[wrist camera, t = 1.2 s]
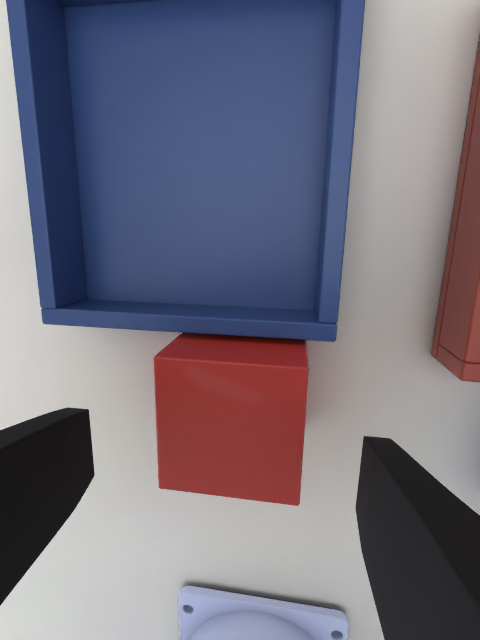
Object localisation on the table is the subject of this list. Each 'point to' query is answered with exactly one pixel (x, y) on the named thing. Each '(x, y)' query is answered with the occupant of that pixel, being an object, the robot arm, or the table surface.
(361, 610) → the table surface
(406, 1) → the table surface
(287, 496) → the red block
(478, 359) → the red tray
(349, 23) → the blue tray
